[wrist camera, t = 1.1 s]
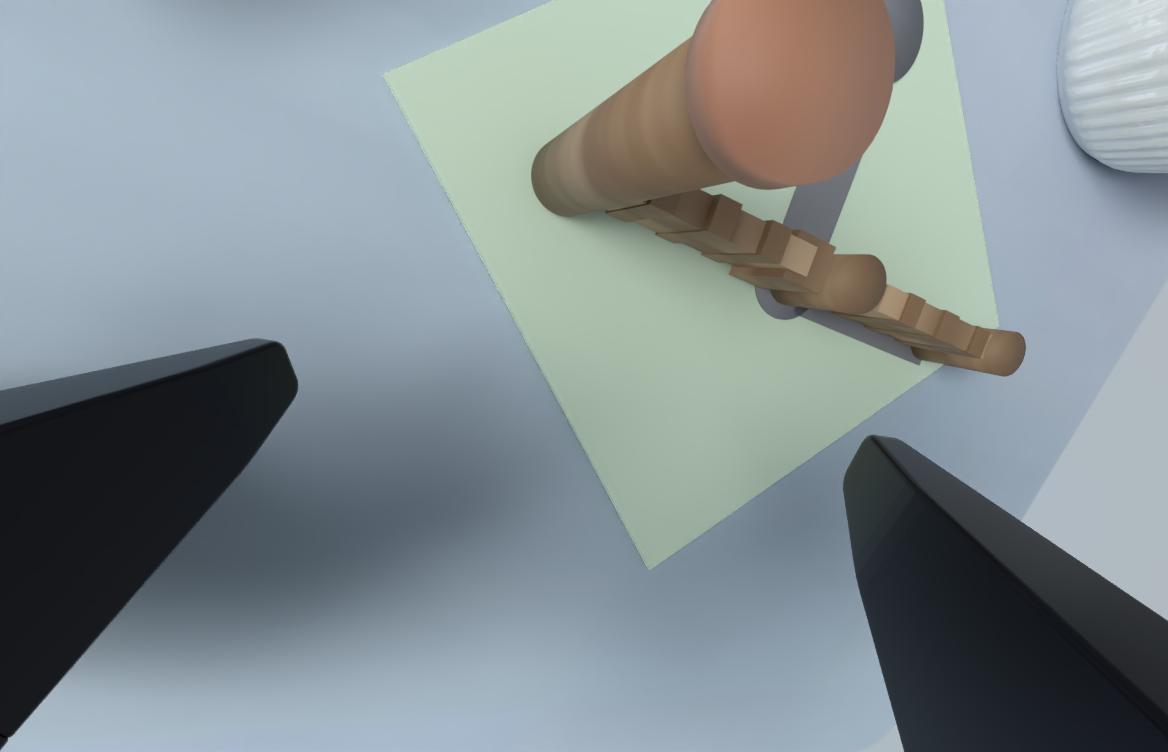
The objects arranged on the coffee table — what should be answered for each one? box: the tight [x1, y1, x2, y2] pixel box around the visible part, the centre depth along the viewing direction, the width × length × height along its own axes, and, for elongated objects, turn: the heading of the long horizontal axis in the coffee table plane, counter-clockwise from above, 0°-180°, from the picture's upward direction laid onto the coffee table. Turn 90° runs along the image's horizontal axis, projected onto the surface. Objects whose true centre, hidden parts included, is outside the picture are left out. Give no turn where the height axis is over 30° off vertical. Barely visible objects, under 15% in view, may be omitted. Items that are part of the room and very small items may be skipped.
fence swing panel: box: [531, 0, 895, 293], centre depth 13 cm, size 10×3×11 cm, turn 70°
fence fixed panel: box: [770, 254, 1026, 376], centre depth 21 cm, size 10×2×4 cm, turn 70°
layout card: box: [383, 0, 999, 570], centre depth 20 cm, size 21×20×1 cm
